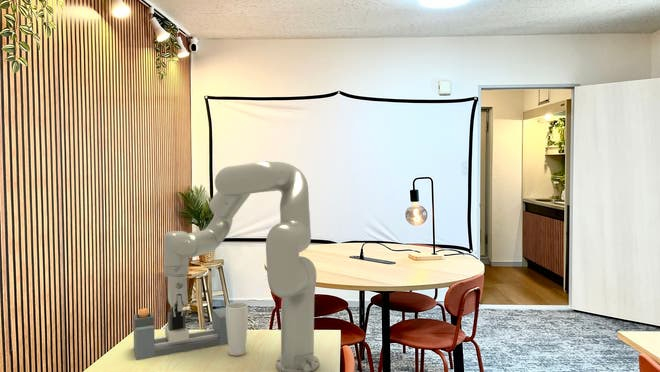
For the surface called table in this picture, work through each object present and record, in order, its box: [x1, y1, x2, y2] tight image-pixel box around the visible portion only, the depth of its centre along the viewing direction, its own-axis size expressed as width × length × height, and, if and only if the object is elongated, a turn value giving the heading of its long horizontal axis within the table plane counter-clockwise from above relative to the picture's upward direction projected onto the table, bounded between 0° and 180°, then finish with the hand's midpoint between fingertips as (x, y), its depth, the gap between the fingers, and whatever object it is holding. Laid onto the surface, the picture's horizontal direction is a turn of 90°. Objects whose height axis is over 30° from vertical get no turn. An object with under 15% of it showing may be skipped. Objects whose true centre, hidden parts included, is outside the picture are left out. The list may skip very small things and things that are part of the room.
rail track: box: [133, 307, 228, 361], centre depth 146 cm, size 30×10×12 cm, turn 118°
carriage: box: [164, 309, 190, 343], centre depth 145 cm, size 6×8×8 cm
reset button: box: [138, 307, 150, 318], centre depth 140 cm, size 3×3×3 cm
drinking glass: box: [225, 302, 249, 357], centre depth 140 cm, size 7×7×15 cm
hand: (176, 326), depth 145 cm, fingers closed on carriage, 3 cm apart
